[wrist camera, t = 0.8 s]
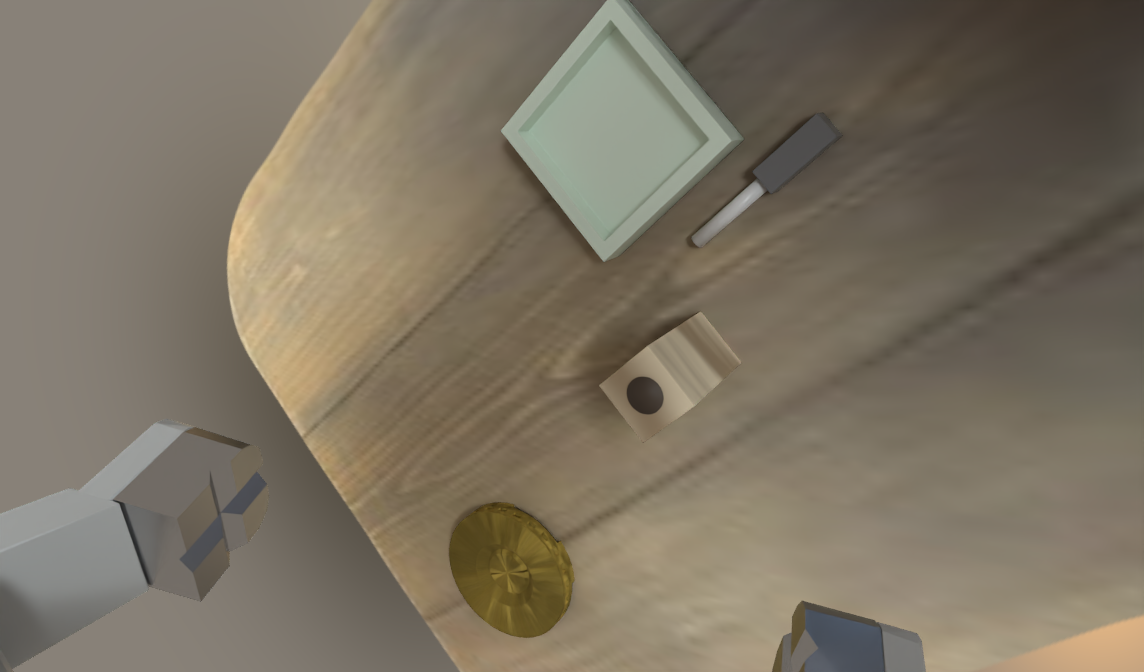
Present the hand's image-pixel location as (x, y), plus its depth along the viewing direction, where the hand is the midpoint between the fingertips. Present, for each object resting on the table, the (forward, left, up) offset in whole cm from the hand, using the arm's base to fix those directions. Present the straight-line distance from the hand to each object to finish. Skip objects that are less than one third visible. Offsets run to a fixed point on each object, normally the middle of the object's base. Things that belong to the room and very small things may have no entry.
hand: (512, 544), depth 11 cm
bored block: (+16, 0, -41) cm, 44 cm away
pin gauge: (+4, -6, -41) cm, 42 cm away
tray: (+10, -15, -41) cm, 45 cm away
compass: (+43, +5, -41) cm, 60 cm away
